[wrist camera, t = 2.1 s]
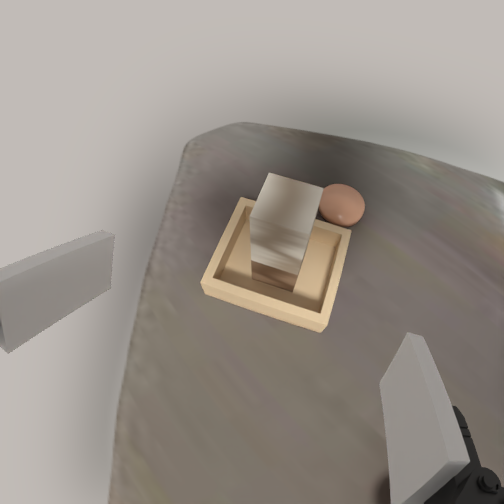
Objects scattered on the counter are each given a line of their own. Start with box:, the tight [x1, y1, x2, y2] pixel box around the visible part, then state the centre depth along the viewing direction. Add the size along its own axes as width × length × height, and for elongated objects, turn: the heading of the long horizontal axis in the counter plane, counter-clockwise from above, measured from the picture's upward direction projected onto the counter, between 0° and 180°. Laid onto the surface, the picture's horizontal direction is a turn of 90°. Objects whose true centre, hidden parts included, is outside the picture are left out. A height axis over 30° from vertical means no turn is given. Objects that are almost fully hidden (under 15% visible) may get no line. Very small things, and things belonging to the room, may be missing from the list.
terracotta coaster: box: [318, 184, 365, 227], centre depth 41 cm, size 6×6×1 cm
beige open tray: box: [200, 197, 352, 333], centre depth 36 cm, size 14×12×4 cm
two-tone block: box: [249, 173, 324, 292], centre depth 32 cm, size 5×5×13 cm
